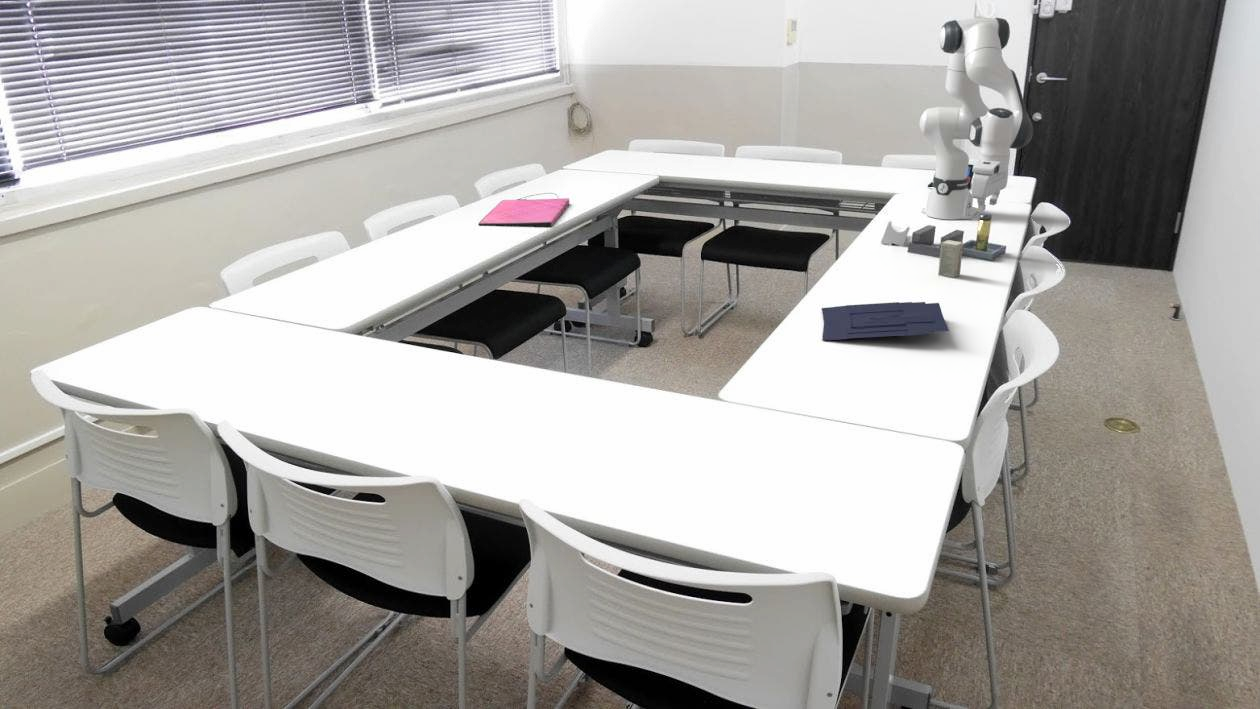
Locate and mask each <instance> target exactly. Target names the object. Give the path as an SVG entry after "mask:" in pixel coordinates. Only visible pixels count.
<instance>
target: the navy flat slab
mask: <svg viewBox="0 0 1260 709" xmlns="http://www.w3.org/2000/svg"><path fill="white" fill-rule="evenodd" d="M821 311H822V312H821V313H822V319H823V328H822V329H823V330H822V338H821V340H822V341H835V340H836V341H838V340H849V339H859V338H860V339H864V338H879V337H880V338H881V337H895V336H896V337H899V336H904V337H907V336H910V337H911V336H921V335H929V334H930V335H933V334H936V333H937V332H939V333H940V332H949V331H950V330H949V328H948V325H947V323H946V322H947V321H946V320H945V317H944V315H943V312H942V309H941V305H940V303H939V302H933V303H932V302H931V303H926V301H919V302H918V301H917V302H915V301H914V302H912V301H907V302H905V301H904V302H903V301H902V302H899V301H897V302H896V301H894V302H881V303H880V302H879V303H864V304H848V305H839V306H830V307H822V308H821Z"/></svg>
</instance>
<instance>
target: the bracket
mask: <svg viewBox="0 0 1260 709" xmlns="http://www.w3.org/2000/svg"><path fill="white" fill-rule="evenodd" d="M892 222H893V220H892V219H888V221H887V222H885V223H884V225H883V228H882V230H881V234H880V235H881V236H880V243H882V244H884V245H888V246H892V245H893V244H894V245H896V246H900V247H903V246H904V243H905V241H906V239H907V236H908V234H909V231H910V229H911V226H910V225H908V224H907V225H906V226H905V228H902V227H900V226H897V225H893V224H892Z"/></svg>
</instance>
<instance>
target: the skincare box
mask: <svg viewBox="0 0 1260 709" xmlns="http://www.w3.org/2000/svg"><path fill="white" fill-rule="evenodd" d="M963 244H964V242H958V241H952V240H947V241H944V242H942V243H941V252H940V258H939V262H938V263H939V264H938V273H937V275H938V276H942V277H947V278H948V277H949V278H957V277H958V276H960V275H961V270H962V269H961V268H962V267H961V266H962V257H963V256H962V251H963Z"/></svg>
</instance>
